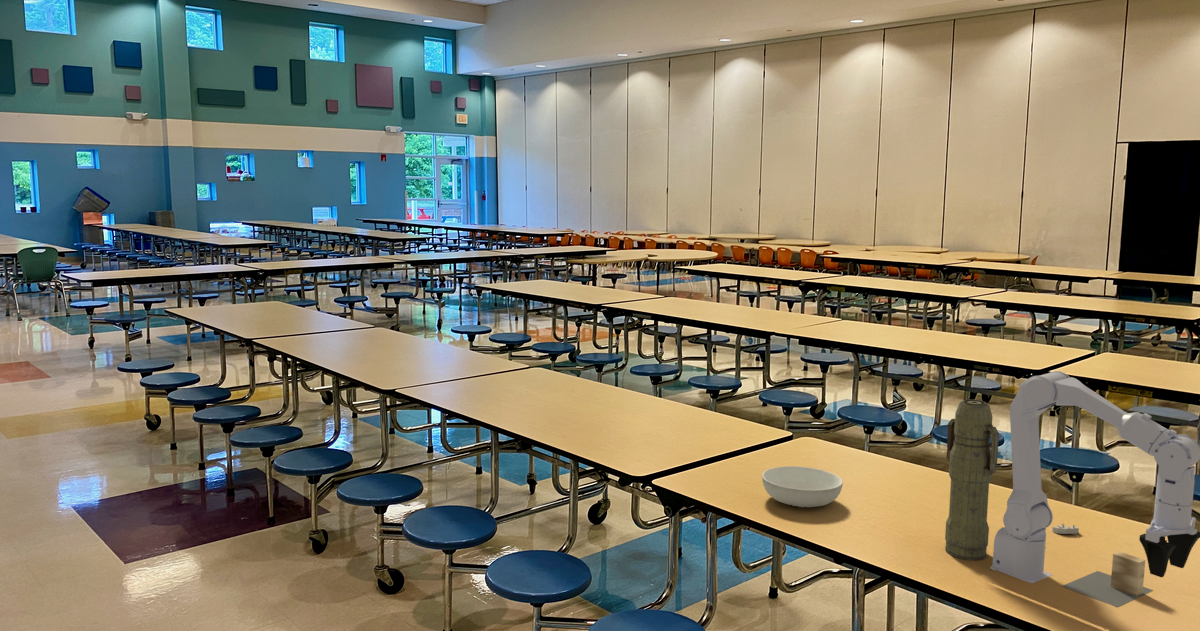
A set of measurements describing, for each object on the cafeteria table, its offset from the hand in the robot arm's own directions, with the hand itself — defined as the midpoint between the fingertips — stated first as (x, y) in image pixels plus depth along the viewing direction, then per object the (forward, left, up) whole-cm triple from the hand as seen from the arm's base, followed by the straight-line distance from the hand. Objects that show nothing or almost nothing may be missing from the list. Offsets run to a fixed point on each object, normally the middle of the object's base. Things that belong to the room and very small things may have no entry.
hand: (1167, 570), depth 159 cm
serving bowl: (-84, -10, -10) cm, 85 cm away
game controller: (-32, +27, -11) cm, 43 cm away
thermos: (-40, -2, -10) cm, 41 cm away
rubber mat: (-12, +5, -10) cm, 17 cm away
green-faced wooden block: (-10, +7, -10) cm, 15 cm away
